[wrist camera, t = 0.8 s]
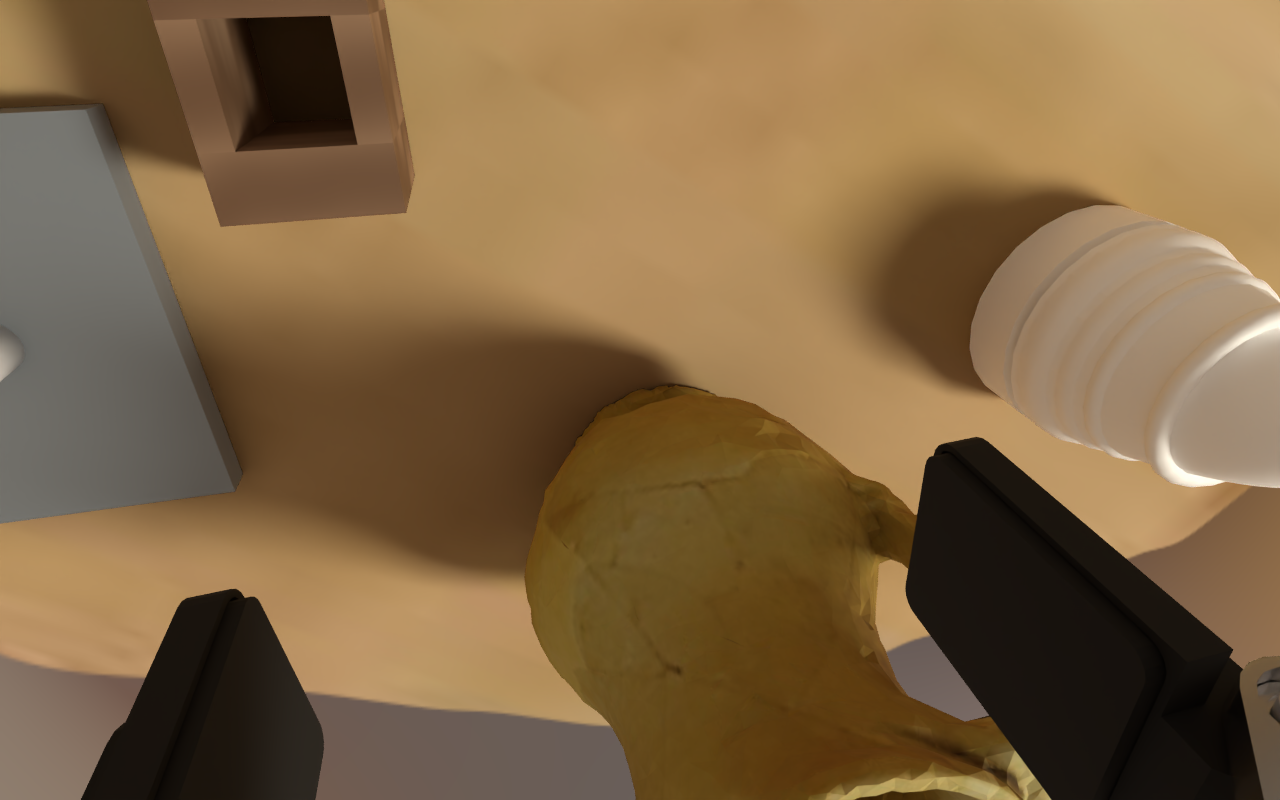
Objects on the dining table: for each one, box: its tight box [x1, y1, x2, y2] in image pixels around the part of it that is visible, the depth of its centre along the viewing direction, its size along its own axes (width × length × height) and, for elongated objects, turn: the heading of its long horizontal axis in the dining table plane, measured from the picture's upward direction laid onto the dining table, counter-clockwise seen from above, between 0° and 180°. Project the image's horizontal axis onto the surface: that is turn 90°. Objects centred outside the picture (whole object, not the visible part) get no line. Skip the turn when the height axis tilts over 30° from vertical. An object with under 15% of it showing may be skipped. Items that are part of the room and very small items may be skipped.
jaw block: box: [147, 0, 415, 227], centre depth 26 cm, size 9×6×6 cm
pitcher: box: [525, 385, 1051, 800], centre depth 32 cm, size 17×19×25 cm
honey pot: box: [969, 205, 1280, 488], centre depth 36 cm, size 13×13×18 cm
